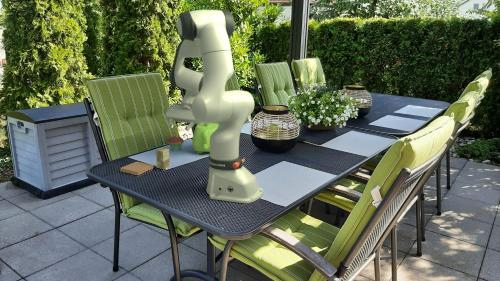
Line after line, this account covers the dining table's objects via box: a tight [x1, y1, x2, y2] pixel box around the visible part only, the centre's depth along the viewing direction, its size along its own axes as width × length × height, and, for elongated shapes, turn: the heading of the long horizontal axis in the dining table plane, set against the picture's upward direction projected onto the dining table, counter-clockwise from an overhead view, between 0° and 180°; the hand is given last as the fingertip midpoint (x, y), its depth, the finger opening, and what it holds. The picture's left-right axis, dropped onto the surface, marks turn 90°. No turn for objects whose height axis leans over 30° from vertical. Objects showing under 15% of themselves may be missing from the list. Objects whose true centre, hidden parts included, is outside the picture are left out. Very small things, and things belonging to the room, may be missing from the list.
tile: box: [120, 161, 155, 176], centre depth 167 cm, size 10×10×2 cm
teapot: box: [191, 122, 220, 154], centre depth 196 cm, size 25×22×16 cm
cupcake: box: [166, 128, 184, 151], centre depth 197 cm, size 9×8×12 cm
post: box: [155, 147, 170, 171], centre depth 169 cm, size 4×4×9 cm
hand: (178, 128), depth 177 cm, fingers open, 8 cm apart
